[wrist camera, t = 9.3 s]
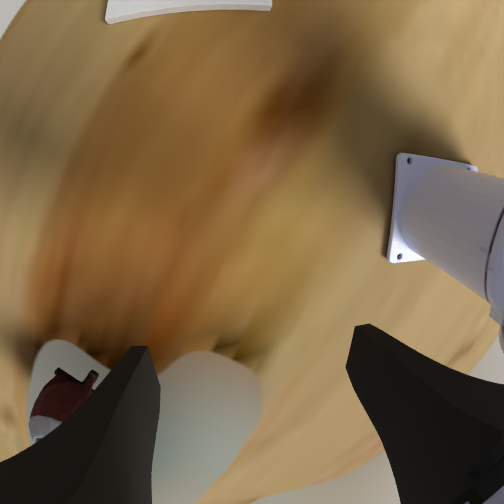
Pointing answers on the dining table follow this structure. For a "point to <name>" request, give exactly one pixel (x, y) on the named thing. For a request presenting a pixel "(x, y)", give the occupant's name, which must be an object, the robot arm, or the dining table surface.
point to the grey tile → (175, 7)
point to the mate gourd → (58, 402)
